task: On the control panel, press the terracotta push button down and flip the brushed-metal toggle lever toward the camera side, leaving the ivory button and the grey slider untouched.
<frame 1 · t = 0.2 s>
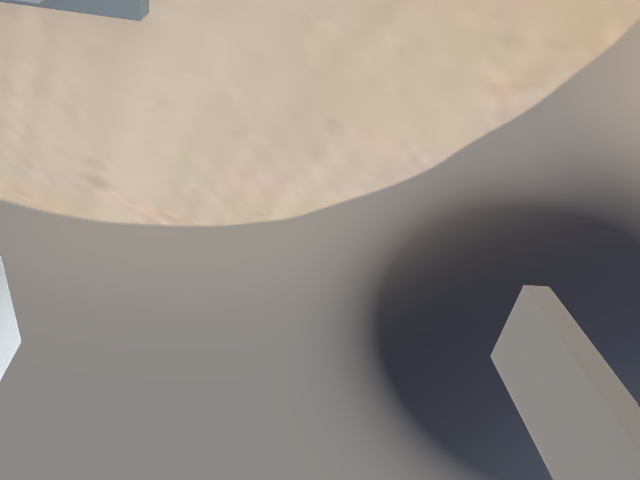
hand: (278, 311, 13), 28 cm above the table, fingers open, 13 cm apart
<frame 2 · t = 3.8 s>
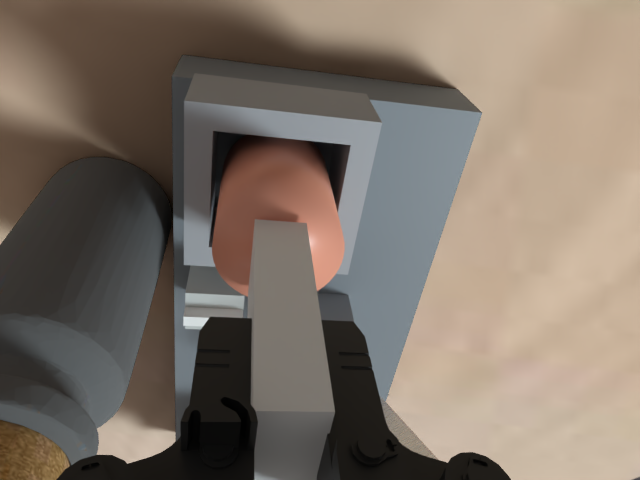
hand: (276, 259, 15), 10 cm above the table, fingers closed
lever: (374, 419, 22), point 8 cm above the table, hinge at -30.0°
button terracotta: (276, 209, 17), point 7 cm above the table, slide at 1.4 cm, touching gripper
slider grey: (215, 300, 22), point 5 cm above the table, slide at -2.0 cm
panel: (291, 296, 28), on the table
bottle: (111, 208, 25), on the table
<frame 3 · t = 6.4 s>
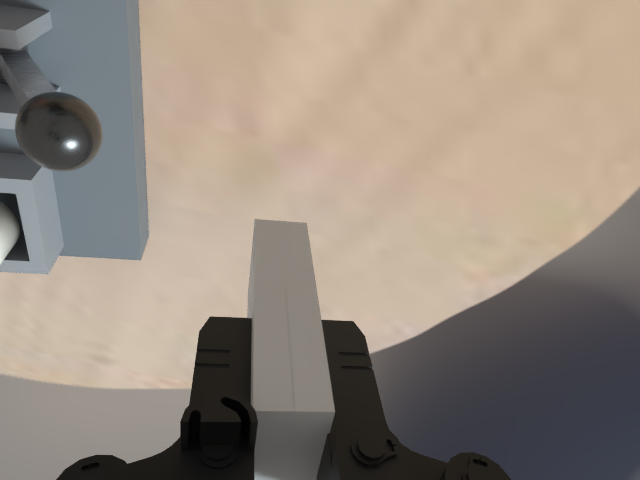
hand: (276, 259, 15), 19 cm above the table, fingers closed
lever: (34, 93, 22), point 8 cm above the table, hinge at -30.0°
panel: (31, 48, 29), on the table
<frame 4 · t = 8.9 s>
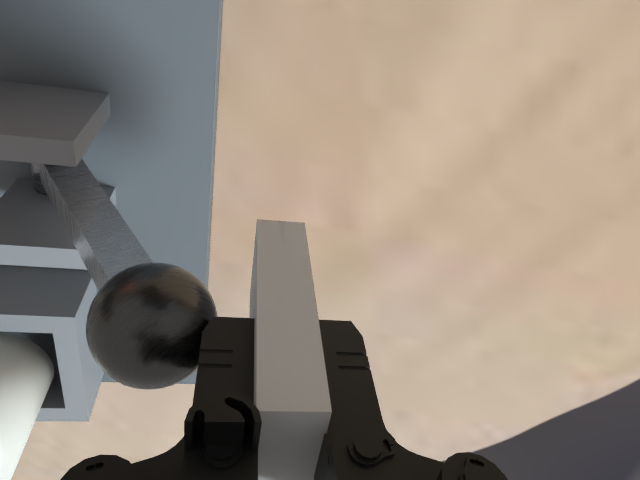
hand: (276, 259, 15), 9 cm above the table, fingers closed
lever: (97, 231, 15), point 8 cm above the table, hinge at -29.7°, touching gripper
panel: (73, 128, 22), on the table
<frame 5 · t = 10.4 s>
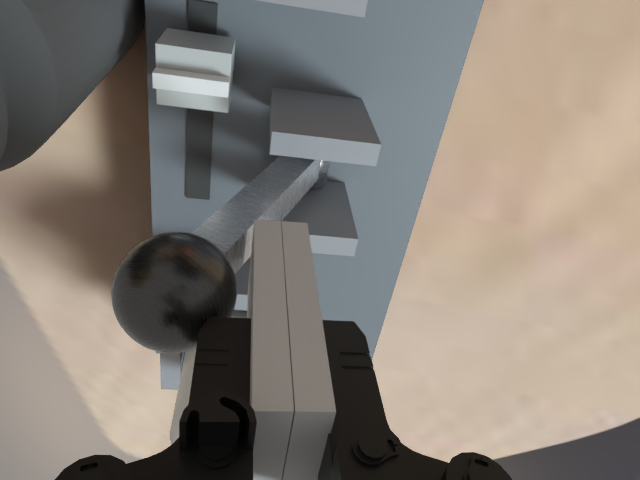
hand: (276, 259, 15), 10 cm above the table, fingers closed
lever: (254, 213, 16), point 9 cm above the table, hinge at 24.3°, touching gripper
button ivory: (227, 384, 22), point 8 cm above the table, slide at 0.0 cm
slider grey: (196, 72, 17), point 5 cm above the table, slide at -2.0 cm
panel: (293, 128, 24), on the table
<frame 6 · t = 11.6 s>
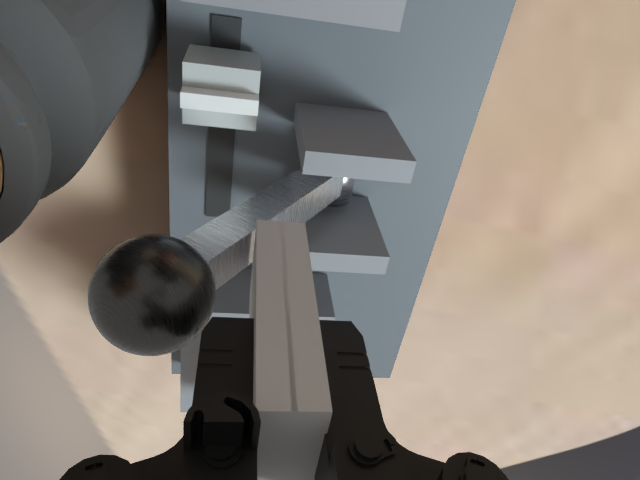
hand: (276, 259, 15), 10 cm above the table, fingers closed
lever: (259, 224, 16), point 8 cm above the table, hinge at 36.2°, touching gripper
slider grey: (222, 90, 17), point 5 cm above the table, slide at -2.0 cm
panel: (311, 142, 23), on the table
bottle: (87, 0, 19), on the table
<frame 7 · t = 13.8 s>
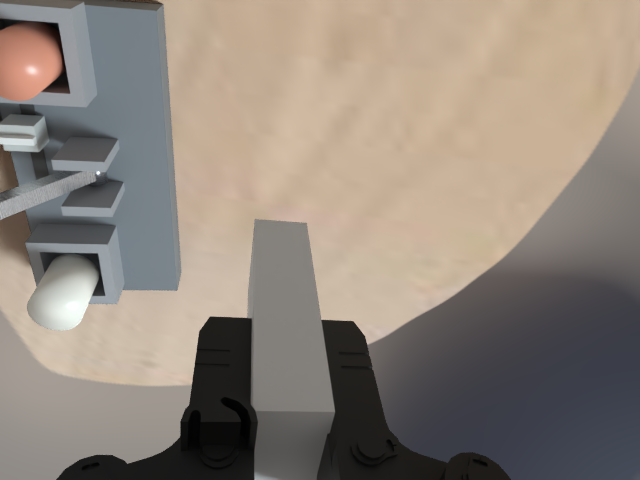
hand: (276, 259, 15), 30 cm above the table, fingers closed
lever: (35, 192, 36), point 8 cm above the table, hinge at 36.3°
button ivory: (65, 291, 41), point 8 cm above the table, slide at 0.0 cm
button terracotta: (25, 58, 33), point 6 cm above the table, slide at 1.8 cm
slider grey: (23, 134, 37), point 5 cm above the table, slide at -2.0 cm
panel: (102, 155, 44), on the table
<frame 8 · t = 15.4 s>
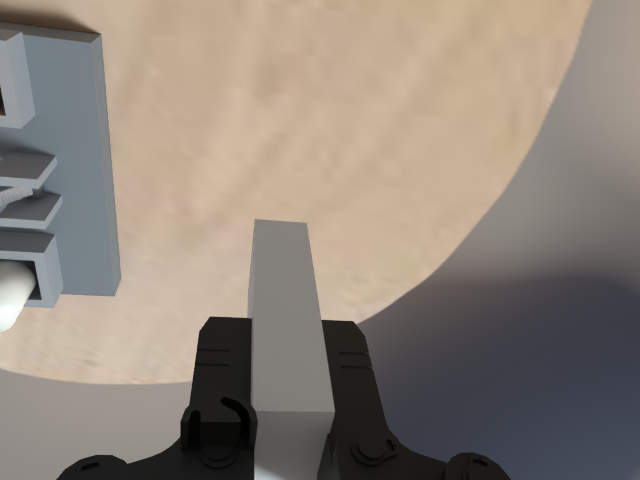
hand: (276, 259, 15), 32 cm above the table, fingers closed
button ivory: (0, 295, 44), point 8 cm above the table, slide at 0.0 cm
panel: (44, 167, 47), on the table
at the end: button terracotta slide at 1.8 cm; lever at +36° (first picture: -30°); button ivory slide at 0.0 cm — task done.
